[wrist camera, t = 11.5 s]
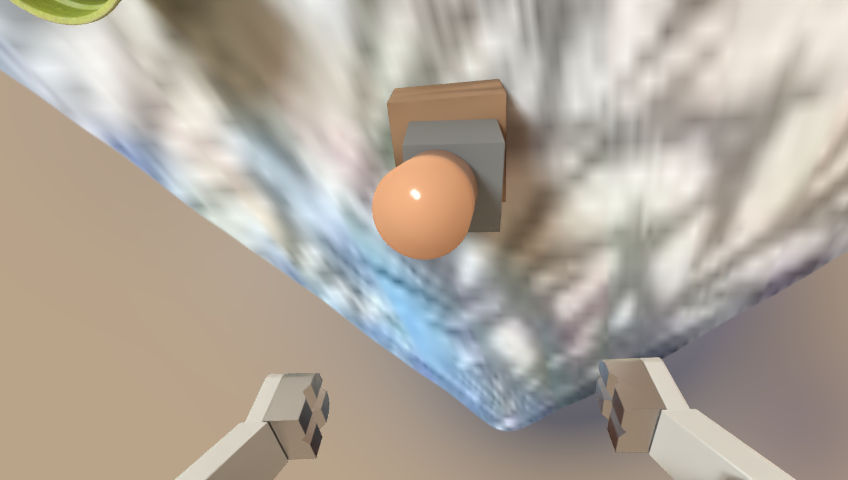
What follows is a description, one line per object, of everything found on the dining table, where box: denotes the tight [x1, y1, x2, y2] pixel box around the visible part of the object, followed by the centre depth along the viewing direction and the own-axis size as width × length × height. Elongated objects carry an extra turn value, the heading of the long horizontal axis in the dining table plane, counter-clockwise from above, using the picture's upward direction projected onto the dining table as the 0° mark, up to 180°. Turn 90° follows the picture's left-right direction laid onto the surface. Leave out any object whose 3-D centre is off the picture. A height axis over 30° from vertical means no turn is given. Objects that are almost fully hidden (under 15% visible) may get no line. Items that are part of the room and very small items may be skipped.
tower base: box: [387, 79, 506, 202], centre depth 32 cm, size 8×8×5 cm
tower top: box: [402, 119, 505, 232], centre depth 28 cm, size 6×6×5 cm
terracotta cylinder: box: [372, 149, 478, 259], centre depth 23 cm, size 5×5×5 cm
